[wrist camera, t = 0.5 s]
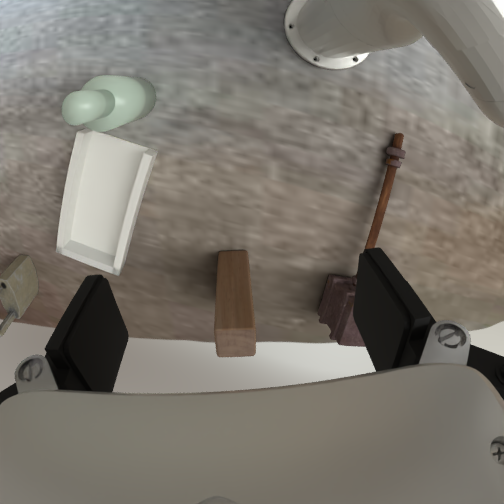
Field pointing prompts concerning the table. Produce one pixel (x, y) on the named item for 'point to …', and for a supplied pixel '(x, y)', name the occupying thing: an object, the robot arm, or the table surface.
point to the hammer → (343, 288)
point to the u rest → (102, 199)
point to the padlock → (17, 289)
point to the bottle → (109, 102)
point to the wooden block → (234, 306)
